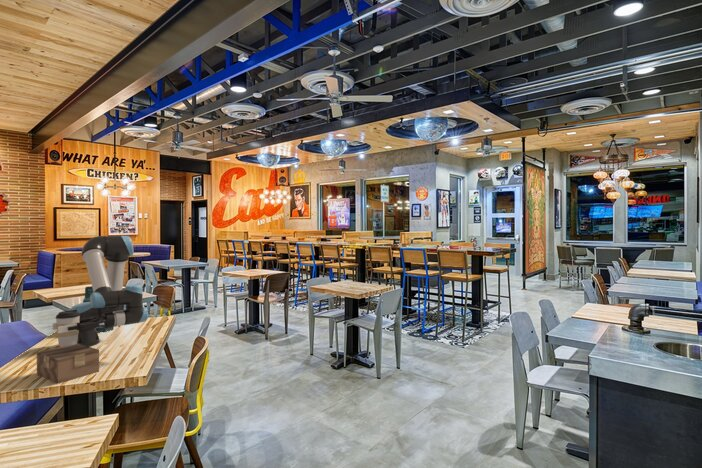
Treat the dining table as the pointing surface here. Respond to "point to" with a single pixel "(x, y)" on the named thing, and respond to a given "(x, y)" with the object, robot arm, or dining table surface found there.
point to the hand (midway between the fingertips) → (55, 328)
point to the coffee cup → (64, 320)
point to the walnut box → (67, 362)
